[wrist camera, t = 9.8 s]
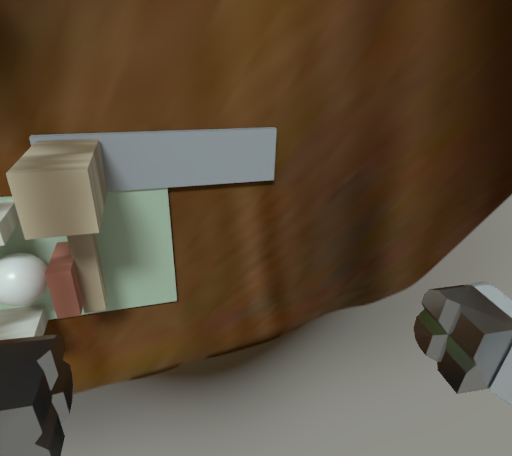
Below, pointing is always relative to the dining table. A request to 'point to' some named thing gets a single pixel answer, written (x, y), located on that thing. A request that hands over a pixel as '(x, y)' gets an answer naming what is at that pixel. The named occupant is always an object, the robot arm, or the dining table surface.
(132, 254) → the mat
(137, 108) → the dining table surface
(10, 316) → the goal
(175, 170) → the board
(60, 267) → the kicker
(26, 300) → the ball
